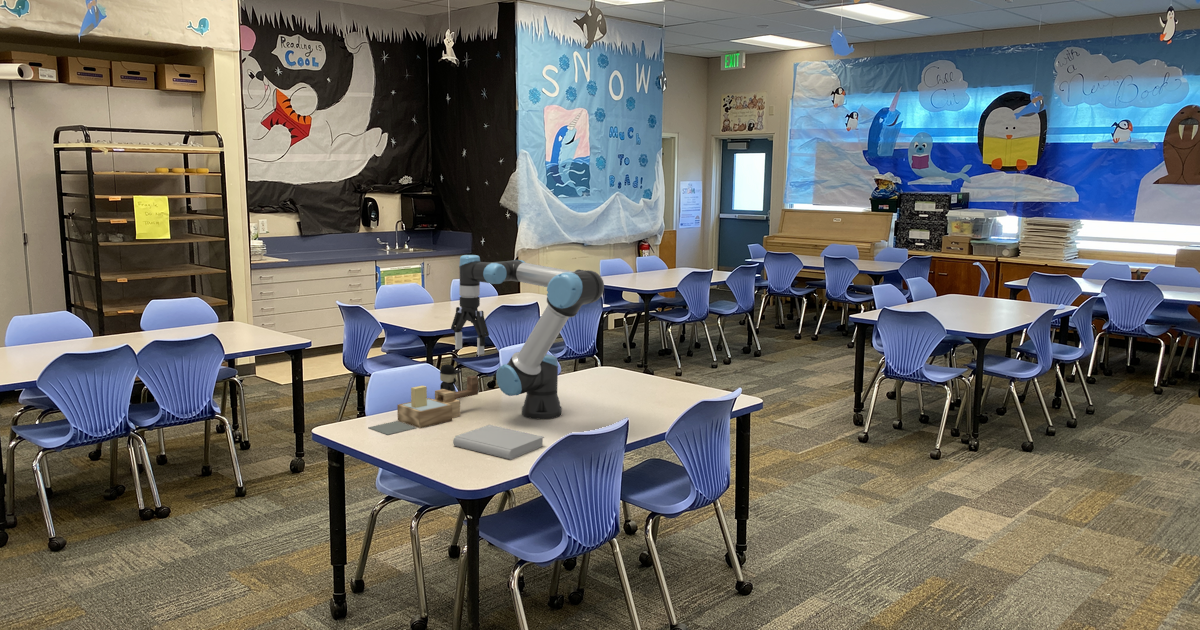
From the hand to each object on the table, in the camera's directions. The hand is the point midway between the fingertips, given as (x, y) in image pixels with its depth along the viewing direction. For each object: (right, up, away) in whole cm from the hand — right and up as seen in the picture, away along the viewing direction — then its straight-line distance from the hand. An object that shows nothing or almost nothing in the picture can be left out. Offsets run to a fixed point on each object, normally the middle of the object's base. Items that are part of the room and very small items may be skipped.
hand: (469, 351), depth 326 cm
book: (+16, -30, -41) cm, 53 cm away
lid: (-14, -20, -13) cm, 28 cm away
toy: (-10, -21, +17) cm, 29 cm away
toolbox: (-12, -24, -10) cm, 29 cm away
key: (-3, -17, -1) cm, 17 cm away
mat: (-24, -26, -22) cm, 42 cm away
